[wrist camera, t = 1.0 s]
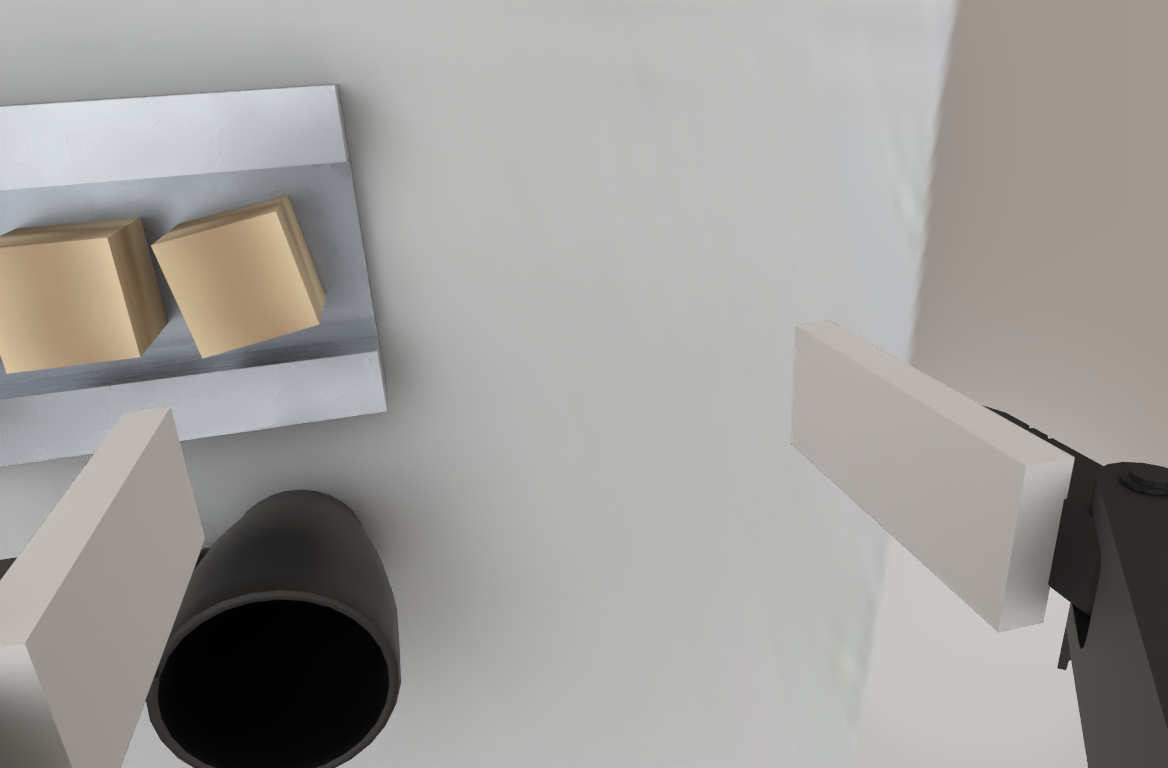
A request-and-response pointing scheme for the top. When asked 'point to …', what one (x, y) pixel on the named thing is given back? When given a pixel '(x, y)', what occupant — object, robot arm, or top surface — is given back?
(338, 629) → the mug
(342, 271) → the slot rail
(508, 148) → the top surface
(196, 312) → the chip
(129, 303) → the chip
